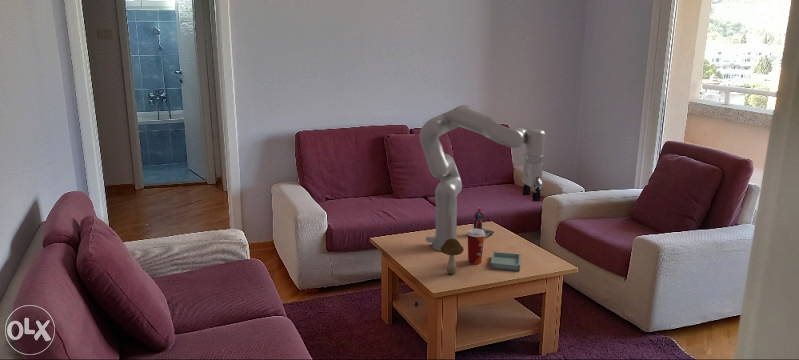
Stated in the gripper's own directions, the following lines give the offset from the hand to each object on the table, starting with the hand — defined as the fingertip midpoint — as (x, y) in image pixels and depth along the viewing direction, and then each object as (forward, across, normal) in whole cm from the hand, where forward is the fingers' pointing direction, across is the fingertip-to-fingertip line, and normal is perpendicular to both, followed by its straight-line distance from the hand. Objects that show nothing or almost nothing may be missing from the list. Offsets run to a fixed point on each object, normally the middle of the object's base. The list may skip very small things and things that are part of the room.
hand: (531, 198), depth 250 cm
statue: (+28, -33, -9) cm, 44 cm away
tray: (+27, +5, -12) cm, 30 cm away
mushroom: (+28, +10, -38) cm, 48 cm away
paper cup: (+28, 0, -24) cm, 37 cm away
